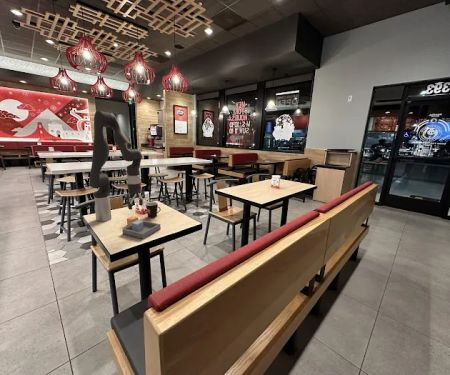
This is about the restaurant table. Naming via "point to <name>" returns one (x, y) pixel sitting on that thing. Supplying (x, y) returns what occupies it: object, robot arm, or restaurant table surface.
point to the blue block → (137, 225)
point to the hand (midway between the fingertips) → (135, 207)
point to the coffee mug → (152, 209)
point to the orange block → (131, 220)
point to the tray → (142, 234)
